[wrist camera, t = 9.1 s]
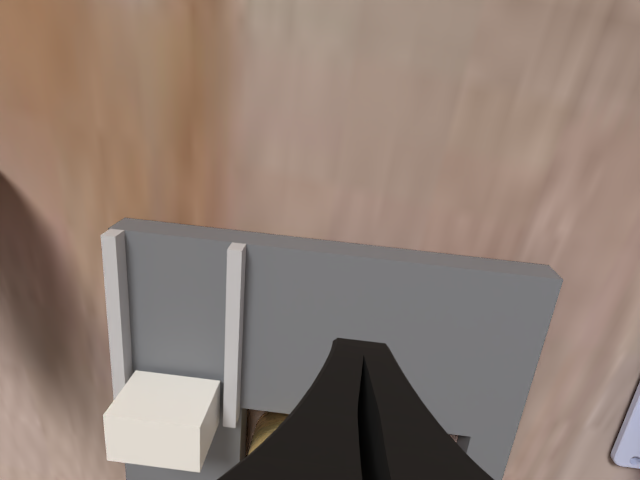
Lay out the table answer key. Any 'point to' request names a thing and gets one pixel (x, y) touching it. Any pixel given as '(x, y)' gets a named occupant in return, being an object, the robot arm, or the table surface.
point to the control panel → (323, 326)
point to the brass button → (266, 427)
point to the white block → (163, 421)
